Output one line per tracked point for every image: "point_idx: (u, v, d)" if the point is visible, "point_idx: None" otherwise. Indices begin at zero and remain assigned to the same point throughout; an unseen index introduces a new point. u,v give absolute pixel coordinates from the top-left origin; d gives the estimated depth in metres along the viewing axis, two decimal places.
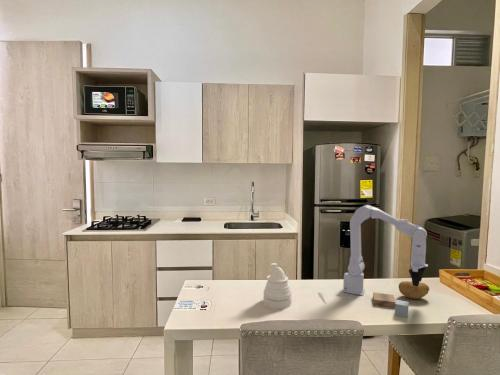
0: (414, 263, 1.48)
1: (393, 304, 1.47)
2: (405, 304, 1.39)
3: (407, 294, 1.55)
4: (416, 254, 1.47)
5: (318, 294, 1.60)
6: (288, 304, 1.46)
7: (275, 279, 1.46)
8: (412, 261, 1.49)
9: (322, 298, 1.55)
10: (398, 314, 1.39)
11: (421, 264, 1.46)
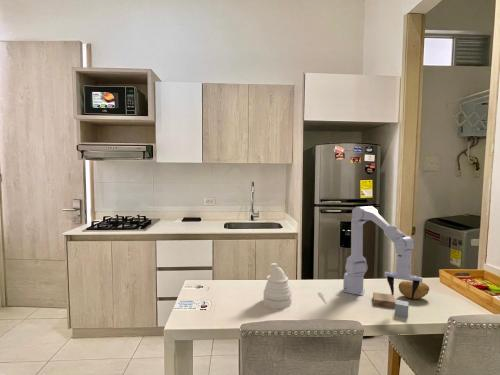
0: None
1: (393, 304, 1.47)
2: (405, 304, 1.39)
3: (407, 294, 1.55)
4: (398, 264, 1.38)
5: (318, 294, 1.60)
6: (288, 304, 1.46)
7: (275, 279, 1.46)
8: None
9: (322, 298, 1.55)
10: (398, 314, 1.39)
11: (397, 274, 1.39)
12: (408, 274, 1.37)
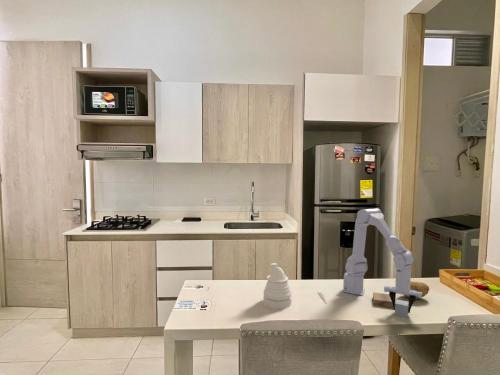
0: None
1: None
2: (405, 304, 1.39)
3: None
4: (397, 279, 1.39)
5: (319, 294, 1.60)
6: (288, 304, 1.46)
7: (275, 279, 1.46)
8: None
9: (322, 298, 1.55)
10: (398, 314, 1.39)
11: (396, 289, 1.39)
12: (407, 289, 1.37)
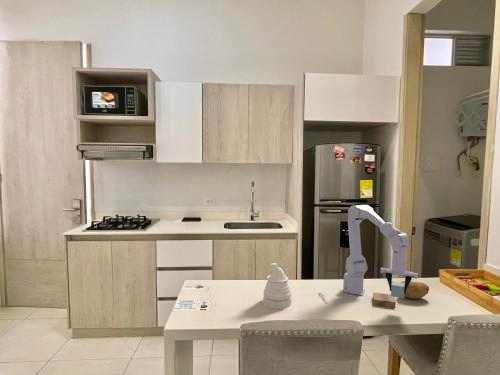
0: None
1: (393, 304, 1.47)
2: (401, 285, 1.41)
3: (407, 294, 1.55)
4: (393, 260, 1.41)
5: (319, 294, 1.60)
6: (288, 304, 1.46)
7: (275, 279, 1.46)
8: None
9: (323, 298, 1.55)
10: (394, 295, 1.41)
11: (392, 270, 1.42)
12: (403, 270, 1.39)
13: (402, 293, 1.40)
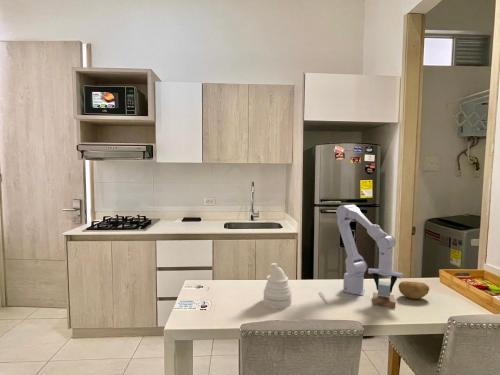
0: None
1: (393, 304, 1.47)
2: (387, 284, 1.50)
3: (407, 294, 1.55)
4: (380, 261, 1.50)
5: (319, 294, 1.60)
6: (288, 304, 1.46)
7: (275, 279, 1.46)
8: None
9: (323, 298, 1.55)
10: (381, 294, 1.50)
11: (379, 270, 1.51)
12: (389, 270, 1.49)
13: (388, 292, 1.49)
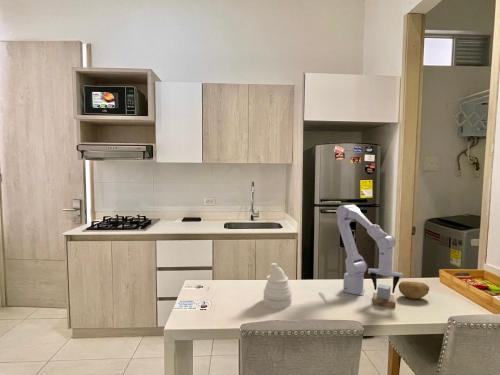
0: None
1: (393, 304, 1.47)
2: (387, 287, 1.50)
3: (407, 294, 1.55)
4: (380, 261, 1.50)
5: (319, 294, 1.60)
6: (288, 304, 1.46)
7: (275, 279, 1.46)
8: None
9: (323, 298, 1.56)
10: (380, 297, 1.51)
11: (379, 270, 1.51)
12: (389, 270, 1.49)
13: (387, 295, 1.49)
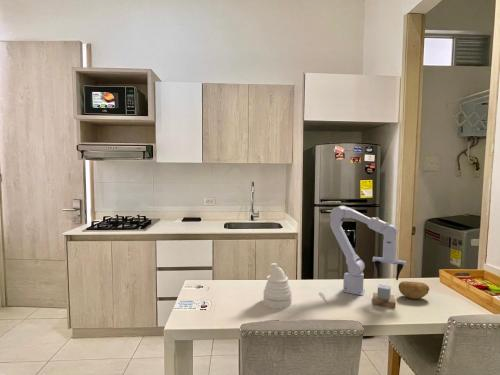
0: None
1: (393, 304, 1.47)
2: (387, 288, 1.50)
3: (407, 294, 1.55)
4: (387, 250, 1.53)
5: (320, 294, 1.60)
6: (288, 304, 1.46)
7: (275, 279, 1.46)
8: None
9: (324, 298, 1.56)
10: (380, 297, 1.50)
11: (383, 258, 1.55)
12: (393, 258, 1.53)
13: (387, 295, 1.49)
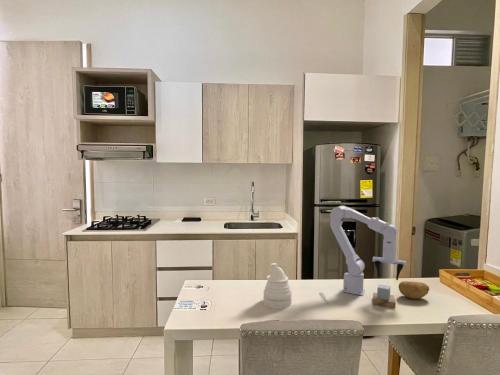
0: None
1: (393, 304, 1.47)
2: (387, 288, 1.50)
3: (407, 294, 1.55)
4: (387, 250, 1.53)
5: (320, 294, 1.60)
6: (288, 304, 1.46)
7: (275, 279, 1.46)
8: None
9: (324, 298, 1.56)
10: (380, 297, 1.50)
11: (383, 258, 1.55)
12: (393, 258, 1.53)
13: (387, 295, 1.49)
